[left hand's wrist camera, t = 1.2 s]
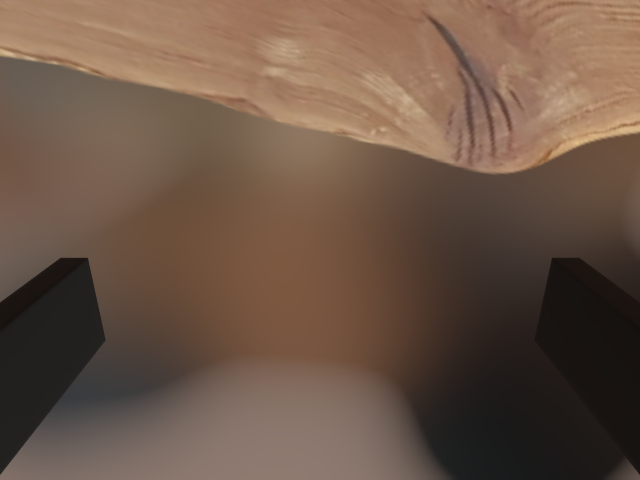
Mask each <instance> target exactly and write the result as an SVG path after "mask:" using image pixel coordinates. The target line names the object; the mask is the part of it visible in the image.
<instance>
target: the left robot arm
mask: <svg viewBox="0 0 640 480" xmlns="http://www.w3.org/2000/svg"><path fill="white" fill-rule="evenodd" d="M104 342H105V335H104V331H103V326H102V321H101V317H100V312H99V308H98V303H97V298H96V294H95V289H94V284H93V280H92V275H91V271H90V266H89V261H88V258H60V259H59V260H57V261H56V262H54V263H53V264H52V265H50V266H49V267H48V268H46V269H45V270H44V271H42V272H41V273H40V274H38V275H37V276H36V277H34V278H33V279H31V280H30V281H29V282H27V283H26V284H25V285H23V286H22V287H21V288H19V289H18V290H17V291H15V292H14V293H12V294H11V295H10V296H8V297H7V298H6V299H4V300H3V301H2V302H0V474H1V473H2V472H3V470H4V469H5V468H6V467H7V465H8V464H9V463H10V462H11V460H12V459H13V458H14V456H15V455H16V454H17V453H18V451H19V450H20V449H21V447H22V446H23V445H24V444H25V442H26V441H27V440H28V438H29V437H30V436H31V435H32V433H33V432H34V431H35V430H36V428H37V427H38V426H39V425H40V423H41V422H42V421H43V419H44V418H45V417H46V416H47V414H48V413H49V412H50V410H51V409H52V408H53V407H54V405H55V404H56V403H57V402H58V400H59V399H60V398H61V396H62V395H63V394H64V393H65V391H66V390H67V389H68V387H69V386H70V385H71V384H72V382H73V381H74V380H75V379H76V377H77V376H78V375H79V373H80V372H81V371H82V370H83V368H84V367H85V366H86V364H87V363H88V362H89V361H90V359H91V358H92V357H93V356H94V354H95V353H96V352H97V350H98V349H99V348H100V347H101V345H102V344H103V343H104ZM535 342H536V343H537V344H538V345H539V347H540V348H541V349H542V351H543V352H544V353H545V354H546V356H547V357H548V358H549V359H550V361H551V362H552V363H553V364H554V366H555V367H556V368H557V370H558V371H559V372H560V373H561V375H562V376H563V377H564V379H565V380H566V381H567V382H568V384H569V385H570V386H571V388H572V389H573V390H574V391H575V393H576V394H577V395H578V396H579V398H580V399H581V400H582V401H583V403H584V404H585V405H586V407H587V408H588V409H589V410H590V412H591V413H592V414H593V416H594V417H595V418H596V419H597V421H598V422H599V423H600V425H601V426H602V427H603V428H604V430H605V431H606V432H607V433H608V435H609V436H610V437H611V439H612V440H613V441H614V442H615V444H616V445H617V446H618V447H619V449H620V450H621V451H622V453H623V454H624V455H625V456H626V458H627V459H628V460H629V461H630V463H631V464H632V465H633V467H634V468H635V469H636V470H637V472H638V473H639V474H640V302H638V301H637V300H636V299H634V298H633V297H632V296H630V295H629V294H627V293H626V292H625V291H623V290H622V289H621V288H619V287H618V286H617V285H615V284H614V283H613V282H611V281H610V280H609V279H607V278H606V277H604V276H603V275H602V274H600V273H599V272H598V271H596V270H595V269H594V268H592V267H591V266H590V265H588V264H587V263H585V262H584V261H583V260H581V259H580V258H552V261H551V266H550V270H549V275H548V280H547V284H546V289H545V294H544V298H543V303H542V308H541V312H540V317H539V321H538V326H537V331H536V335H535Z"/></svg>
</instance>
